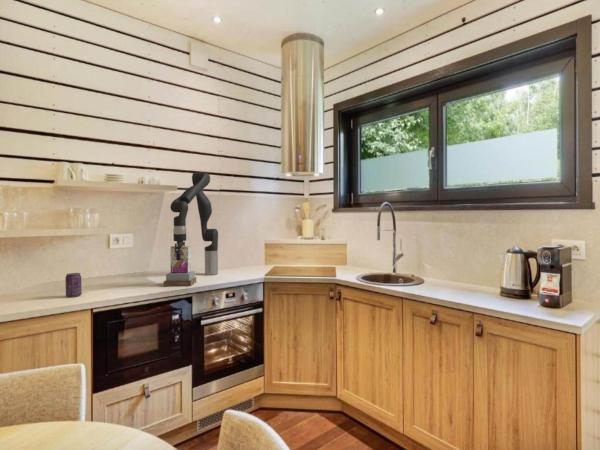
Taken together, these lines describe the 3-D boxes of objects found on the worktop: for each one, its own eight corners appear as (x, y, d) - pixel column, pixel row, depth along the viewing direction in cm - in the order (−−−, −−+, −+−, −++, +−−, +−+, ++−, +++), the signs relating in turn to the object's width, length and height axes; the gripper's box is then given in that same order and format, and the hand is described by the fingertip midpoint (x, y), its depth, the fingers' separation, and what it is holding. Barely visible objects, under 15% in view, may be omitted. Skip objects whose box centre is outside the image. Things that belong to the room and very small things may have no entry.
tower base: (170, 284, 227) (170, 277, 227) (196, 283, 227) (196, 277, 227) (163, 288, 213) (163, 281, 213) (190, 287, 213) (190, 280, 213)
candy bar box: (170, 273, 218) (170, 246, 218) (173, 272, 223) (173, 246, 223) (188, 273, 217) (187, 246, 217) (191, 272, 222) (190, 245, 222)
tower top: (172, 277, 226) (172, 271, 226) (194, 277, 226) (194, 271, 226) (166, 280, 215) (166, 274, 215) (189, 280, 215) (189, 273, 215)
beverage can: (70, 295, 192) (70, 272, 191) (84, 294, 192) (83, 272, 192) (62, 297, 185) (62, 274, 184) (77, 297, 185) (76, 274, 185)
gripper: (176, 232, 227) (177, 258, 227) (170, 233, 213) (170, 260, 213) (188, 232, 227) (189, 258, 228) (183, 233, 213) (183, 260, 213)
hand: (180, 259), depth 220 cm, fingers open, 8 cm apart
